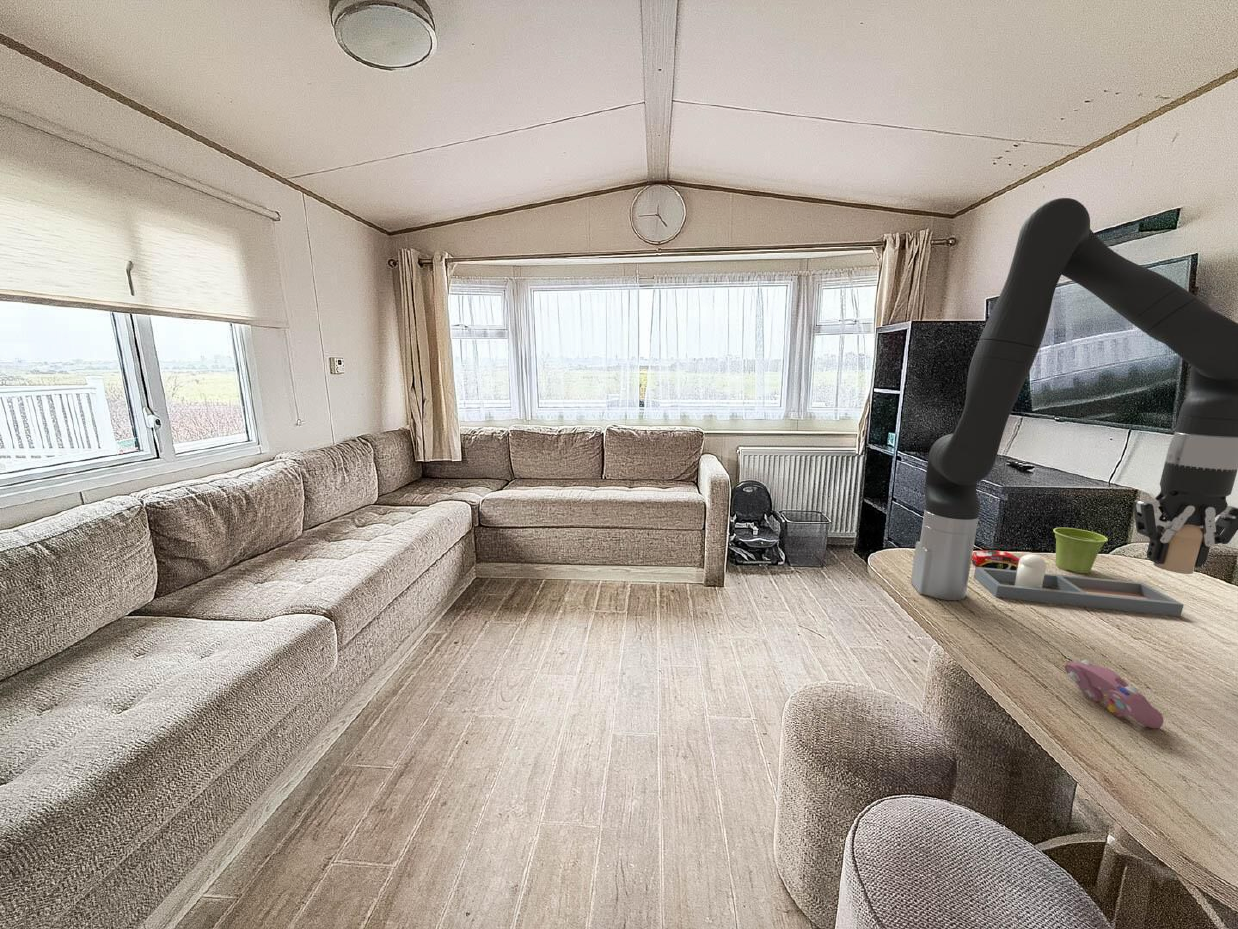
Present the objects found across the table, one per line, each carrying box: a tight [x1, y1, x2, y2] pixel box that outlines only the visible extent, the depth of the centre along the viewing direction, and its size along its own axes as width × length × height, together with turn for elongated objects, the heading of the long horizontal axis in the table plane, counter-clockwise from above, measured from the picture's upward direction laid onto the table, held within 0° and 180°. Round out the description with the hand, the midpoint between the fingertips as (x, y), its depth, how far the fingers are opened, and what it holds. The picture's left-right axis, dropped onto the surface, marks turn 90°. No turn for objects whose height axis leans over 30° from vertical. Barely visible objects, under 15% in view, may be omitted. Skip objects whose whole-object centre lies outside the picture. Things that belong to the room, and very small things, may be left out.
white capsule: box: [1013, 553, 1047, 589], centre depth 103 cm, size 4×4×8 cm
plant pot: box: [1052, 527, 1109, 574], centre depth 115 cm, size 9×9×9 cm
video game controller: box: [1064, 659, 1165, 730], centre depth 68 cm, size 10×5×7 cm, turn 5°
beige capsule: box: [1153, 521, 1203, 575], centre depth 80 cm, size 4×4×8 cm
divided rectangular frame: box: [973, 566, 1184, 618], centre depth 102 cm, size 31×10×2 cm, turn 76°
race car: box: [971, 549, 1021, 571], centre depth 116 cm, size 13×5×4 cm, turn 65°
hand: (1174, 563), depth 81 cm, fingers closed on beige capsule, 4 cm apart
